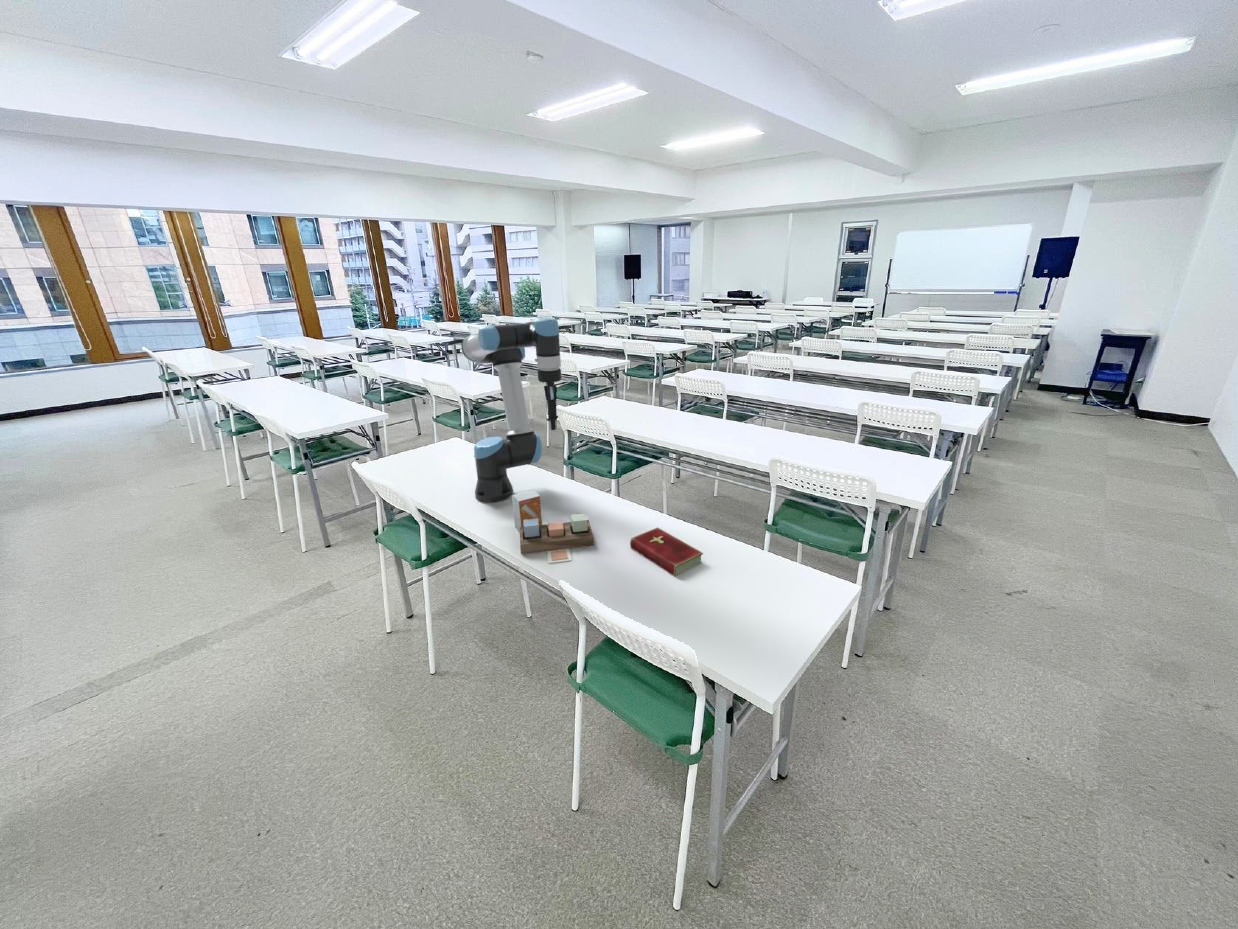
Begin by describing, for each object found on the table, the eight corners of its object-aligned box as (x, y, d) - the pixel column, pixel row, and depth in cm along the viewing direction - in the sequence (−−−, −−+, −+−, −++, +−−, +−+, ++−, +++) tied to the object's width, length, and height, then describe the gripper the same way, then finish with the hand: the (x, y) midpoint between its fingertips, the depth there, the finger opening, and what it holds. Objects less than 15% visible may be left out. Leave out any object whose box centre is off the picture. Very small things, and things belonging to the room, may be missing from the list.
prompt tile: (547, 552, 161) (547, 550, 161) (568, 549, 163) (568, 548, 162) (548, 563, 155) (548, 562, 155) (571, 561, 156) (571, 559, 156)
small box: (521, 535, 172) (518, 501, 167) (514, 527, 177) (511, 494, 172) (543, 528, 176) (540, 495, 171) (535, 521, 181) (532, 489, 176)
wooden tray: (520, 536, 171) (519, 527, 170) (589, 528, 176) (588, 519, 174) (521, 554, 160) (520, 544, 159) (594, 545, 165) (593, 536, 163)
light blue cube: (524, 532, 167) (523, 519, 165) (538, 531, 168) (537, 518, 166) (524, 539, 163) (523, 526, 161) (539, 538, 164) (538, 525, 162)
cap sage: (571, 527, 170) (571, 514, 168) (585, 526, 171) (585, 513, 169) (573, 534, 166) (572, 521, 164) (587, 532, 166) (587, 519, 165)
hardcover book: (674, 577, 148) (674, 565, 146) (630, 549, 163) (630, 537, 162) (702, 564, 155) (703, 552, 153) (657, 537, 170) (657, 526, 169)
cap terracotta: (548, 536, 169) (547, 523, 168) (562, 534, 170) (562, 521, 168) (549, 543, 165) (548, 530, 163) (564, 541, 166) (563, 528, 164)
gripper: (536, 365, 165) (541, 433, 174) (538, 372, 153) (543, 445, 162) (559, 364, 166) (563, 431, 175) (562, 371, 154) (566, 443, 163)
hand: (553, 437), depth 168 cm, fingers closed
